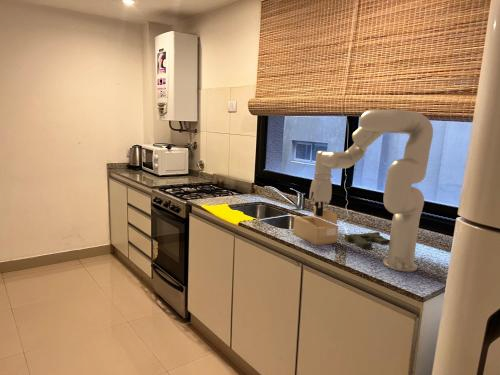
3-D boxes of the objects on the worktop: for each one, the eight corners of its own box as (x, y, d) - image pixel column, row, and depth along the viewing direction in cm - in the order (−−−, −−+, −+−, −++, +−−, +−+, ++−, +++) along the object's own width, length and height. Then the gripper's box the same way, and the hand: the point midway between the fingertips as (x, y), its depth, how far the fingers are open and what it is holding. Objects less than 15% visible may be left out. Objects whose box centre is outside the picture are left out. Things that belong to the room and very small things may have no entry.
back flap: (336, 224, 169) (337, 224, 170) (335, 213, 168) (336, 213, 168) (314, 216, 184) (314, 215, 184) (313, 206, 182) (314, 205, 182)
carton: (337, 243, 170) (339, 225, 168) (317, 245, 164) (318, 227, 163) (311, 231, 186) (313, 215, 185) (292, 233, 181) (293, 217, 179)
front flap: (309, 221, 161) (308, 222, 161) (317, 225, 164) (316, 226, 164) (288, 213, 176) (287, 214, 176) (295, 217, 178) (295, 218, 178)
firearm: (399, 239, 174) (375, 230, 187) (364, 243, 163) (340, 233, 175) (398, 245, 175) (374, 236, 188) (363, 250, 163) (339, 240, 176)
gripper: (329, 176, 178) (326, 212, 181) (304, 176, 171) (301, 214, 174) (340, 178, 172) (336, 216, 175) (314, 178, 164) (311, 218, 167)
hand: (319, 215), depth 174 cm, fingers closed
